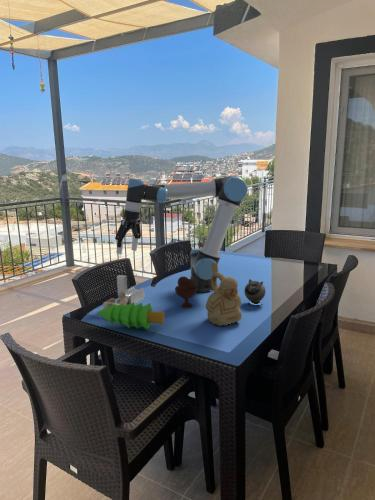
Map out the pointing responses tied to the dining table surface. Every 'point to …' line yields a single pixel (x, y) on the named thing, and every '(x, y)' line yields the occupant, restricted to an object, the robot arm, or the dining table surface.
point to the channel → (135, 295)
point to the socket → (112, 302)
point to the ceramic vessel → (223, 299)
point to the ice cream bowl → (186, 290)
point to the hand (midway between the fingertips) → (126, 252)
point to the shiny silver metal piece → (123, 288)
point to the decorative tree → (132, 315)
